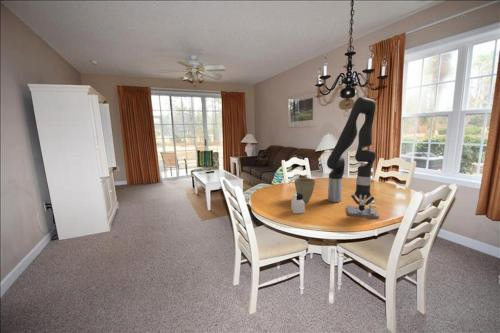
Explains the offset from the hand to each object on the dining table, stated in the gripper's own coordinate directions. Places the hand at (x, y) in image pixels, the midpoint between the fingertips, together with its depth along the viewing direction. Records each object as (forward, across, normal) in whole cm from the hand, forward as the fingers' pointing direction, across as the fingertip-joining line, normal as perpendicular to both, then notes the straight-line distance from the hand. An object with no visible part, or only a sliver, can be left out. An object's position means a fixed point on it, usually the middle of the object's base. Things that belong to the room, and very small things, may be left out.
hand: (361, 210), depth 131 cm
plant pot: (+3, -36, +17) cm, 40 cm away
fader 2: (+1, +6, 0) cm, 6 cm away
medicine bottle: (+3, -38, -6) cm, 38 cm away
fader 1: (+1, +6, +7) cm, 9 cm away
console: (+3, +1, +3) cm, 4 cm away
